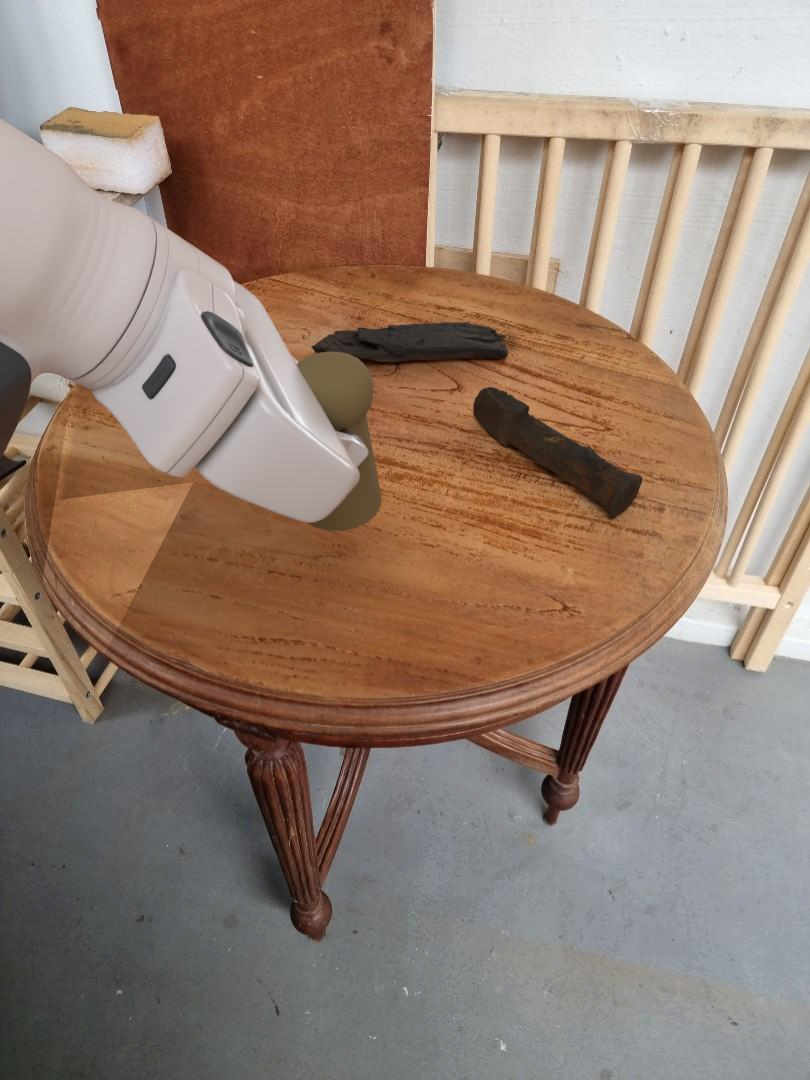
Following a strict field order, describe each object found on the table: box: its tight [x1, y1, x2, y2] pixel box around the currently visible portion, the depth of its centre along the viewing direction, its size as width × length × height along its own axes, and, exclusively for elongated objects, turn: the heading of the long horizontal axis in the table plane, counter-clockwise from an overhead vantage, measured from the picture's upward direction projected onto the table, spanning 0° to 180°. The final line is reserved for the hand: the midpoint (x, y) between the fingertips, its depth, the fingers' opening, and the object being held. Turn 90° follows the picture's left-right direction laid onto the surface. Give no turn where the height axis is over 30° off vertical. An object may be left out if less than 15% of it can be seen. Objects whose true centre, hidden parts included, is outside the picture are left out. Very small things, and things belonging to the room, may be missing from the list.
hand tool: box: [472, 386, 643, 519], centre depth 73 cm, size 19×4×5 cm, turn 40°
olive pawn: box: [297, 352, 382, 532], centre depth 50 cm, size 6×6×11 cm
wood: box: [310, 321, 509, 363], centre depth 87 cm, size 22×7×3 cm, turn 95°
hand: (343, 429), depth 50 cm, fingers closed on olive pawn, 4 cm apart
